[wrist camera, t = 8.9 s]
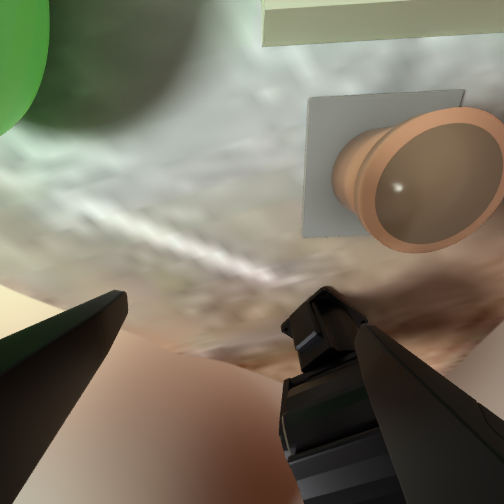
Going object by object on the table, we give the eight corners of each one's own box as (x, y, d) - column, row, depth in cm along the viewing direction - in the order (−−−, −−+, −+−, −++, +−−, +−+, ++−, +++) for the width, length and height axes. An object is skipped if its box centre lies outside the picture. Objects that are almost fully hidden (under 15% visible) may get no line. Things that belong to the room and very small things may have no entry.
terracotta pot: (434, 123, 16) (550, 109, 10) (403, 219, 19) (477, 257, 12) (335, 119, 16) (385, 103, 10) (319, 215, 19) (350, 251, 12)
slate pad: (418, 231, 20) (422, 233, 19) (301, 235, 20) (302, 237, 20) (456, 91, 16) (464, 89, 15) (307, 99, 16) (309, 97, 15)
